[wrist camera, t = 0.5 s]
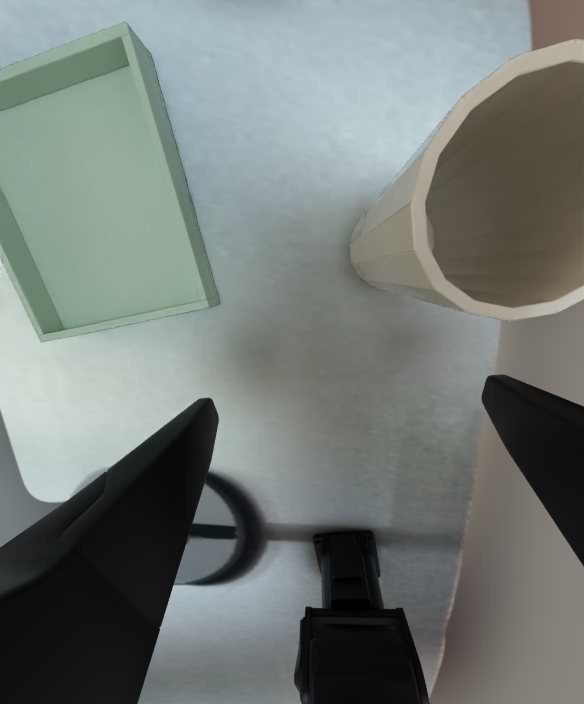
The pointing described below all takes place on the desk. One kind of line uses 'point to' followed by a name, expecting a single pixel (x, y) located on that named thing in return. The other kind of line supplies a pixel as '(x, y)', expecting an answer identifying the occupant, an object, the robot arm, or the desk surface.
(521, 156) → the tumbler
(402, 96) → the desk surface
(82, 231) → the tray
